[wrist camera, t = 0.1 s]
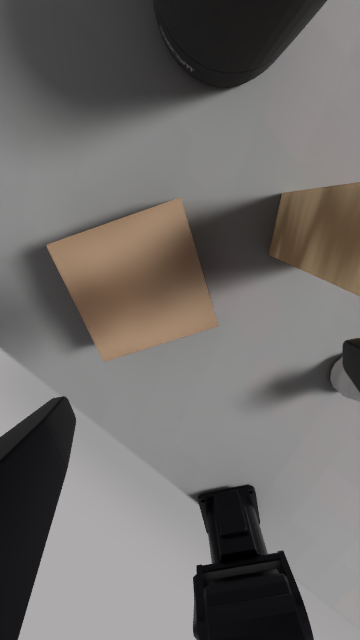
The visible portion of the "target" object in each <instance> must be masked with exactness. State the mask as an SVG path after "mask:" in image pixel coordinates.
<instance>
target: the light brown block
mask: <svg viewBox="0 0 360 640" xmlns="http://www.w3.org/2000/svg"><path fill="white" fill-rule="evenodd" d="M46 246H47V248H48V250H49V252H50V254H51V256H52V258H53V261H54V263H55V265H56V267H57V269H58V271H59V273H60V275H61V277H62V279H63V281H64V283H65V285H66V287H67V289H68V291H69V293H70V295H71V297H72V299H73V301H74V303H75V305H76V307H77V309H78V311H79V313H80V315H81V317H82V319H83V321H84V323H85V325H86V327H87V329H88V331H89V333H90V335H91V337H92V339H93V341H94V343H95V345H96V347H97V349H98V351H99V353H100V355H101V357H102V359H103V361H104V362H105V361H108V360H111V359H114V358H118V357H121V356H124V355H127V354H130V353H134V352H137V351H140V350H143V349H146V348H150V347H153V346H156V345H159V344H162V343H166V342H169V341H172V340H175V339H178V338H182V337H185V336H188V335H191V334H194V333H198V332H201V331H204V330H207V329H210V328H214V327H217V326H219V325H218V322H217V319H216V315H215V312H214V308H213V305H212V302H211V298H210V295H209V292H208V288H207V285H206V281H205V278H204V275H203V271H202V268H201V265H200V261H199V258H198V254H197V251H196V248H195V244H194V241H193V237H192V234H191V231H190V227H189V224H188V221H187V217H186V214H185V210H184V207H183V204H182V200H181V197H180V198H177V199H174V200H172V201H169V202H166V203H163V204H160V205H157V206H155V207H152V208H149V209H146V210H143V211H140V212H138V213H135V214H132V215H129V216H126V217H123V218H121V219H118V220H115V221H112V222H109V223H106V224H104V225H101V226H98V227H95V228H92V229H89V230H87V231H84V232H81V233H78V234H75V235H72V236H70V237H67V238H64V239H61V240H58V241H55V242H53V243H50V244H47V245H46Z"/></svg>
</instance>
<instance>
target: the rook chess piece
mask: <svg viewBox="0 0 360 640" xmlns="http://www.w3.org/2000/svg"><path fill="white" fill-rule="evenodd" d="M330 380H331V383H332V386H333V387H334V388H335V389H336V390H338V391H339V392H340V393H341V394H342V395H343V396H345V397H347V398H350V399H354V400H356V401H360V393H359V391H358V390H357V388H356V387H355V385H354V384H353V382H352V381H351V379H350V378H349V376H348V375H347V374H346V372H345V370H344V368H343V365H342V357H341V358H340V359H339V360H338V361H337V362H335V364H334V366H333V368H332V370H331V376H330Z"/></svg>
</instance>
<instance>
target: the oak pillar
mask: <svg viewBox="0 0 360 640" xmlns="http://www.w3.org/2000/svg"><path fill="white" fill-rule="evenodd" d="M268 255H270V256H272V257H274V258H277V259H279V260H281V261H283V262H285V263H288V264H290V265H292V266H294V267H297V268H299V269H301V270H303V271H305V272H308V273H310V274H312V275H314V276H316V277H319V278H321V279H323V280H325V281H327V282H330V283H332V284H334V285H336V286H339V287H341V288H343V289H345V290H347V291H350V292H352V293H354V294H356V295H358V296H360V182H357V183H350V184H343V185H336V186H329V187H321V188H314V189H307V190H300V191H293V192H286V193H282V196H281V200H280V205H279V209H278V214H277V218H276V223H275V227H274V232H273V236H272V241H271V245H270V250H269V254H268Z"/></svg>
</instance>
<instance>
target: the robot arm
mask: <svg viewBox="0 0 360 640" xmlns="http://www.w3.org/2000/svg"><path fill="white" fill-rule="evenodd" d="M342 365H343V368H344V370H345V372H346V374H347V375H348V376H349V378H350V379H351V381H352V382H353V384H354V385H355V387H356V388H357V390H358V391H359V393H360V338H355V339H350V340H346V341H345V342H344V343H343V353H342ZM75 425H76V417H75V414H74V412H73V410H72V407H71V405H70V403H69V400H68V399H67V398H66V397H64V396H63V397H57V398H53V399H51V400H50V401H48V402H47V403H46V404H44V405H43V406H42V407H40V408H39V409H38V410H36V411H35V412H34V413H32V414H31V415H30V416H28V417H27V418H26V419H24V420H23V421H21V422H20V423H19V424H17V425H16V426H15V427H14V428H12V429H11V430H9V431H8V432H7V433H5V434H4V435H3V436H1V437H0V640H18V637H19V633H20V630H21V626H22V623H23V620H24V616H25V613H26V609H27V606H28V602H29V599H30V596H31V592H32V588H33V585H34V582H35V578H36V575H37V571H38V568H39V565H40V561H41V558H42V554H43V551H44V547H45V544H46V541H47V537H48V534H49V530H50V527H51V523H52V520H53V517H54V513H55V510H56V506H57V503H58V499H59V496H60V493H61V489H62V485H63V482H64V479H65V475H66V471H67V468H68V463H69V458H70V453H71V447H72V442H73V436H74V431H75ZM198 502H199V506H200V509H201V513H202V517H203V520H204V524H205V528H206V532H207V533H208V536H209V544H210V552H211V559H212V564H209V565H203V566H202V565H197V574H196V575H195V576H194V577H193V584H194V619H193V633H194V637H195V638H196V639H197V640H314V639H313V634H312V630H311V626H310V622H309V619H308V616H307V612H306V609H305V606H304V603H303V600H302V597H301V595H300V592H299V590H298V587H297V584H296V582H295V579H294V577H293V574H292V572H291V569H290V567H289V564H288V562H287V559H286V557H285V554H284V551H278V553H273V554H268V553H267V550H266V546H265V543H264V540H263V536H262V533H261V529H260V526H259V524H260V519H259V512H258V506H257V499H256V492H255V489H254V487H253V486H247V487H241V488H236V489H230V490H225V491H219V492H214V493H209V494H203V495H200V496H199V497H198Z"/></svg>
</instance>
